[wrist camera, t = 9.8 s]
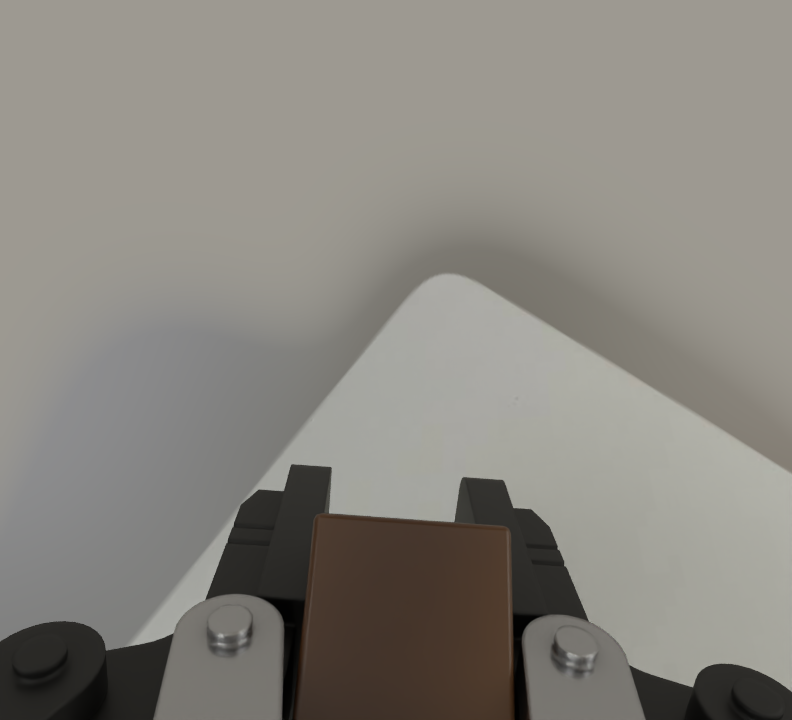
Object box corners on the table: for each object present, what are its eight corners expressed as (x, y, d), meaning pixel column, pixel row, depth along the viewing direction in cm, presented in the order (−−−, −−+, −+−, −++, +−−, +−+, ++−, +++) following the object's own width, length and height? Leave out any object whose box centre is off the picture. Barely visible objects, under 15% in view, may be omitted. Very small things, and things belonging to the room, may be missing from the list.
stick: (319, 697, 18) (289, 742, 7) (328, 606, 20) (314, 510, 8) (404, 702, 19) (517, 755, 7) (408, 611, 20) (512, 525, 8)
